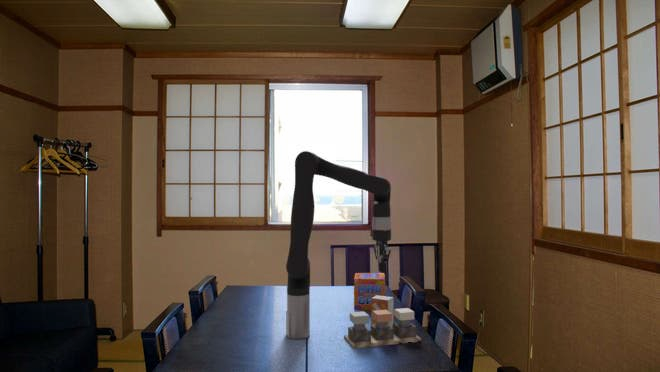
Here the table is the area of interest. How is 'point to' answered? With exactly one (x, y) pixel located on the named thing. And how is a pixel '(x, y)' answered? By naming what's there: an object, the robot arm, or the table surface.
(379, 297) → the small box
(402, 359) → the table surface
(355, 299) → the game box
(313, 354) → the table surface
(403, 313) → the plunger cream
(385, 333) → the button board
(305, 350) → the table surface
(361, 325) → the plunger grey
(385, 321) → the plunger terracotta
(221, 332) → the table surface
